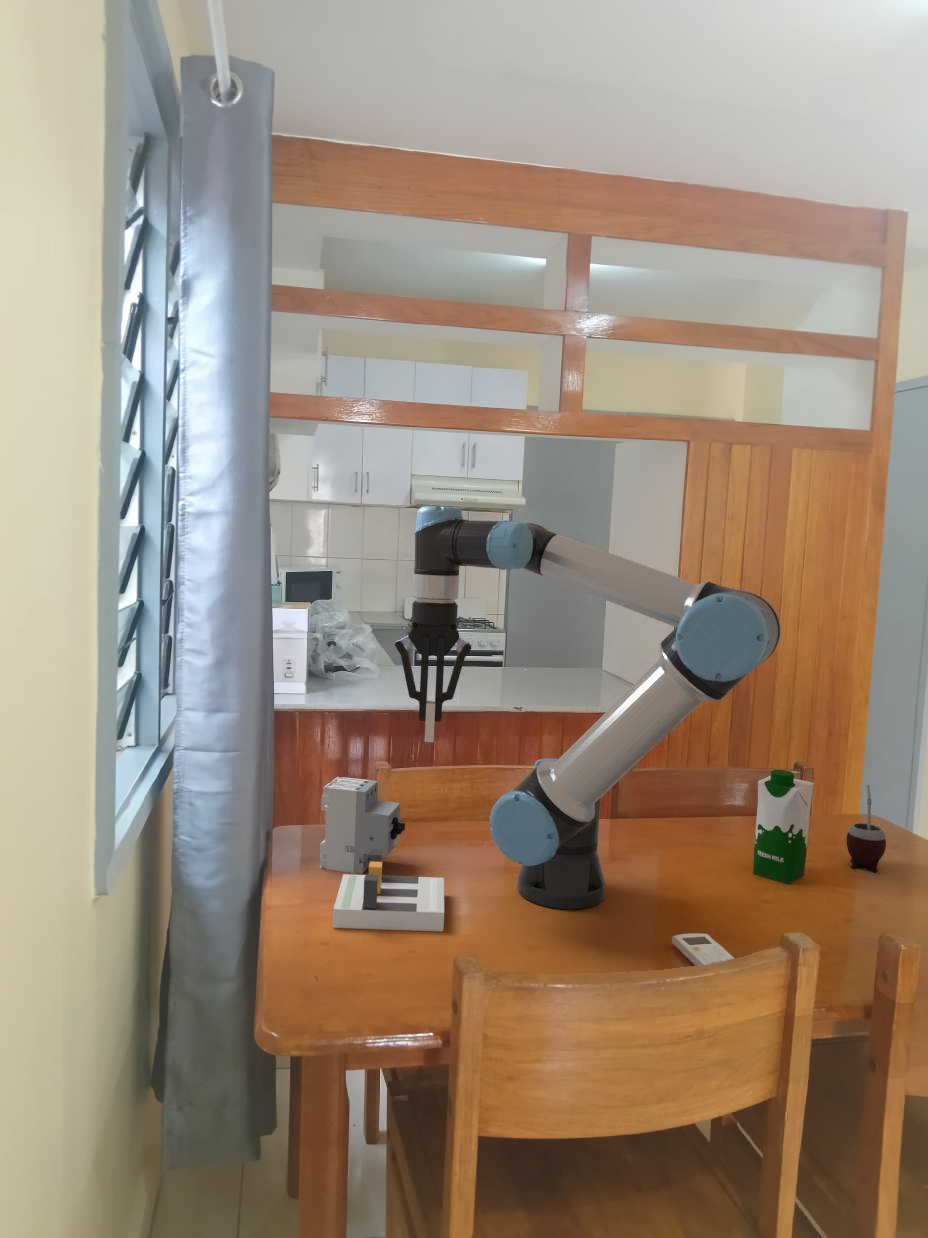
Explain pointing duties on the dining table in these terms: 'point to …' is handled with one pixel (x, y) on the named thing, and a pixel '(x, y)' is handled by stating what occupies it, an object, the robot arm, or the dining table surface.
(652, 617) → the robot arm
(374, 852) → the block
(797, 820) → the milk carton
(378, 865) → the block
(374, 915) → the panel
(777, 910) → the dining table surface
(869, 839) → the mate gourd
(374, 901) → the block
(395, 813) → the circuit breaker
